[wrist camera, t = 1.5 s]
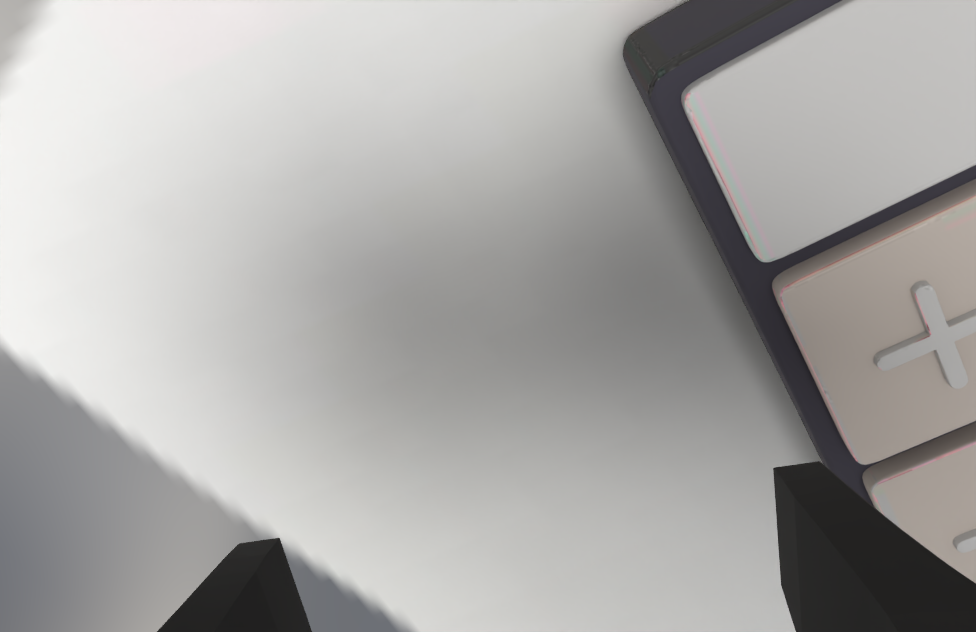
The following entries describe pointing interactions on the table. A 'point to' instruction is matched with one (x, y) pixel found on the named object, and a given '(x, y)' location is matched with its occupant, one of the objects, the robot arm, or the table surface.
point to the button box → (843, 224)
